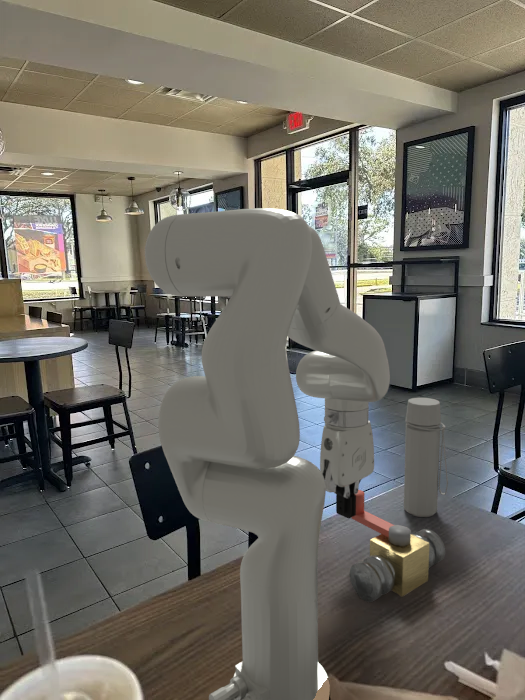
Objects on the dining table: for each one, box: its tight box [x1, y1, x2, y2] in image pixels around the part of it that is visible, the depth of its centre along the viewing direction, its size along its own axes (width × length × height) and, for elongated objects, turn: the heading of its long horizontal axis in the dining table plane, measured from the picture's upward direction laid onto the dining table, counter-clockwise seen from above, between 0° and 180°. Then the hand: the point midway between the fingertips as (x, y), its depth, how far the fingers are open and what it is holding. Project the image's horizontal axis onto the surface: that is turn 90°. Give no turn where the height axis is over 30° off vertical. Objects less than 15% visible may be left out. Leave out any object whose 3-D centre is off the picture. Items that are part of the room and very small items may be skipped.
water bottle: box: [403, 397, 449, 518], centre depth 110 cm, size 9×8×25 cm
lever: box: [351, 489, 412, 546], centre depth 90 cm, size 13×4×5 cm, turn 37°
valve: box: [349, 528, 446, 603], centre depth 87 cm, size 18×7×7 cm, turn 127°
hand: (345, 514), depth 91 cm, fingers closed
